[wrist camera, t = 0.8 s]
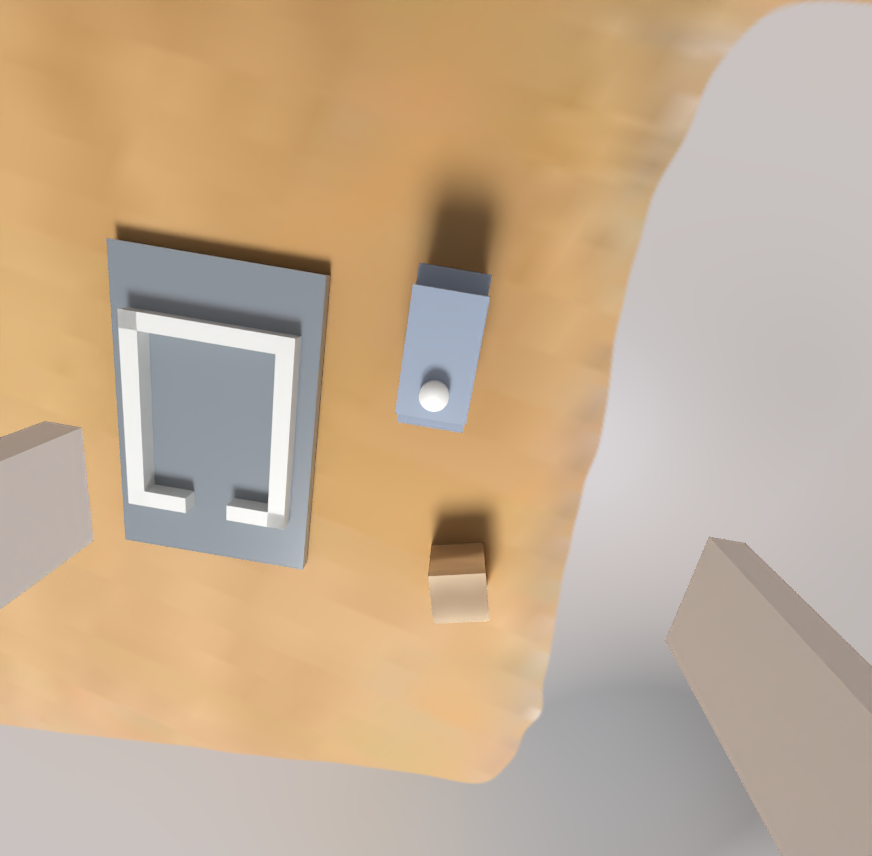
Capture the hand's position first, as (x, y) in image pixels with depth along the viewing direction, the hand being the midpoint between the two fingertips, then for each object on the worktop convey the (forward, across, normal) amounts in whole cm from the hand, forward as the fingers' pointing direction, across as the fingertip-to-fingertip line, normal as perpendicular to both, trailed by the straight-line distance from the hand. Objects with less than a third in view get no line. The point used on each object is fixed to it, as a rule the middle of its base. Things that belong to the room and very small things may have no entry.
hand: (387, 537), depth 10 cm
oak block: (+22, +4, -16) cm, 28 cm away
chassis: (+22, -15, -7) cm, 28 cm away
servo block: (+23, 0, +1) cm, 23 cm away
